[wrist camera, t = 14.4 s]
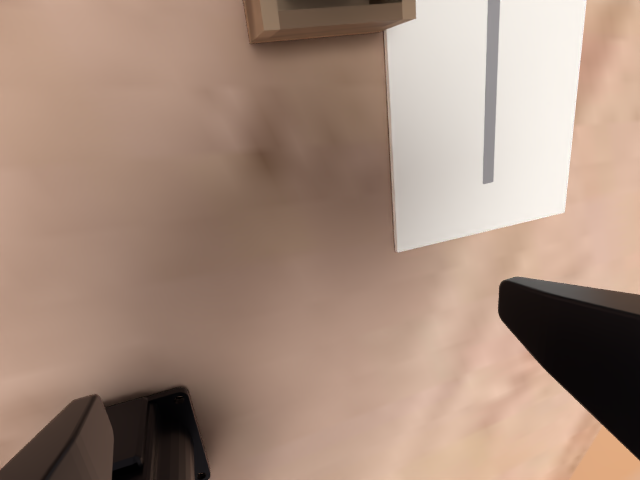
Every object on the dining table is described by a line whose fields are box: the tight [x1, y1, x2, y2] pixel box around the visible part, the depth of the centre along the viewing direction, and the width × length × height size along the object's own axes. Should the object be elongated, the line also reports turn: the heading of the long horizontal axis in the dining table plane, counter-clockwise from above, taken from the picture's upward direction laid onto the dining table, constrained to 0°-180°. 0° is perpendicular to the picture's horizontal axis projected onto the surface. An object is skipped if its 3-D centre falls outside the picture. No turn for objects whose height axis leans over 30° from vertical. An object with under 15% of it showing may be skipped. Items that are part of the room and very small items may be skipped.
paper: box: [384, 0, 586, 253], centre depth 22 cm, size 16×12×1 cm
